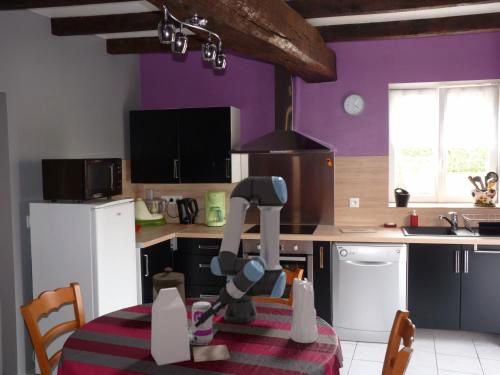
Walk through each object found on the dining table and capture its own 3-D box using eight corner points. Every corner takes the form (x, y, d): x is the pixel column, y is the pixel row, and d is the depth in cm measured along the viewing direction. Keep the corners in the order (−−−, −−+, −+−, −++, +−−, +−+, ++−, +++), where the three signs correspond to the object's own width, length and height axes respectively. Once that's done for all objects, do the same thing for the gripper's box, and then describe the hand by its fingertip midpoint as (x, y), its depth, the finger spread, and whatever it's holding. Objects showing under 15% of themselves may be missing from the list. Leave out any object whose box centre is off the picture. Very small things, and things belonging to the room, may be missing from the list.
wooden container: (159, 308, 256) (158, 263, 254) (188, 309, 254) (187, 264, 252) (149, 318, 241) (147, 271, 239) (180, 319, 239) (179, 271, 237)
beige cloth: (226, 346, 206) (226, 344, 205) (229, 359, 194) (229, 356, 194) (192, 349, 203) (192, 347, 203) (194, 361, 192) (194, 359, 192)
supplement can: (209, 344, 208) (208, 307, 207) (189, 343, 210) (188, 306, 209) (215, 337, 216) (214, 301, 215) (195, 335, 218) (195, 300, 217)
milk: (158, 365, 189) (156, 294, 187) (151, 353, 200) (149, 287, 197) (190, 359, 194) (188, 290, 192) (181, 348, 204) (180, 283, 202)
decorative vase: (320, 334, 217) (319, 275, 215) (314, 344, 207) (314, 282, 205) (294, 332, 220) (294, 273, 218) (288, 341, 210) (287, 280, 208)
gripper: (236, 278, 217) (202, 312, 224) (215, 291, 197) (178, 328, 204) (248, 291, 216) (213, 325, 223) (228, 306, 196) (190, 343, 203)
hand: (196, 326), depth 213 cm, fingers closed on supplement can, 8 cm apart
